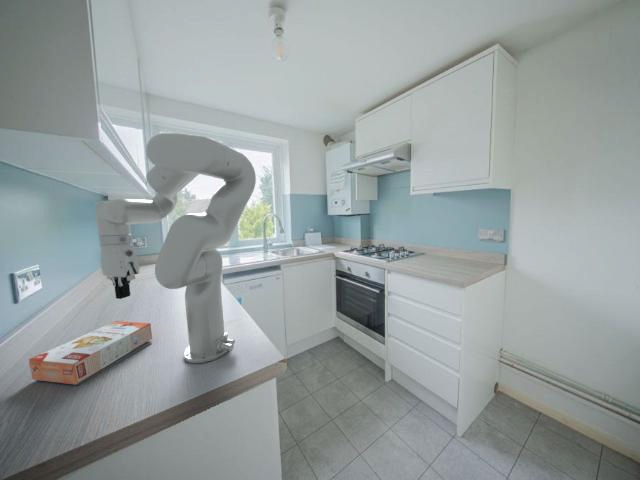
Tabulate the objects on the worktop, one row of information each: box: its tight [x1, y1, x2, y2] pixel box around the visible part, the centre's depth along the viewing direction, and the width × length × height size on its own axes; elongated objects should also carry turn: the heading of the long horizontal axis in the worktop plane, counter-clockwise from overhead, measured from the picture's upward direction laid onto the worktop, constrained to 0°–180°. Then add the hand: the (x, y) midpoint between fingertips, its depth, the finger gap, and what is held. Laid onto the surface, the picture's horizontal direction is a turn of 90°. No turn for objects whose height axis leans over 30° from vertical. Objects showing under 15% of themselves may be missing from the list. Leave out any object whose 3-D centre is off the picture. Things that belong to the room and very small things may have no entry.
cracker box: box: [28, 320, 153, 386], centre depth 65 cm, size 14×6×21 cm
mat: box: [77, 341, 153, 385], centre depth 66 cm, size 16×18×1 cm
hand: (123, 297), depth 73 cm, fingers closed
